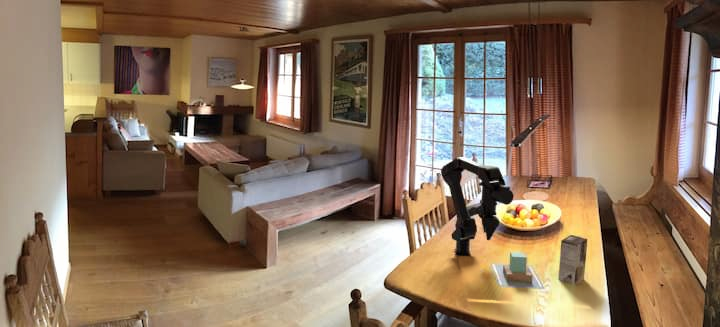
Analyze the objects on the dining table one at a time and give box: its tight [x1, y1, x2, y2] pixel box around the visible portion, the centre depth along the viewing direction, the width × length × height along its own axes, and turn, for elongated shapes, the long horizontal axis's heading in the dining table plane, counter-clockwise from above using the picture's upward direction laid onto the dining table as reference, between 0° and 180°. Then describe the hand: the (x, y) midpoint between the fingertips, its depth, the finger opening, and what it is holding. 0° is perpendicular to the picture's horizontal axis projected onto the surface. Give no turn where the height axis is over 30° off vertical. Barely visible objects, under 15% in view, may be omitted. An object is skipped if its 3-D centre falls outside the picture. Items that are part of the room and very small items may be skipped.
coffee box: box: [557, 234, 588, 286], centre depth 183 cm, size 9×6×16 cm
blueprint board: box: [490, 263, 546, 290], centre depth 187 cm, size 22×16×1 cm
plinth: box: [503, 265, 533, 283], centre depth 185 cm, size 9×9×3 cm
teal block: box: [509, 251, 528, 273], centre depth 184 cm, size 5×5×6 cm
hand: (486, 236), depth 198 cm, fingers open, 9 cm apart
